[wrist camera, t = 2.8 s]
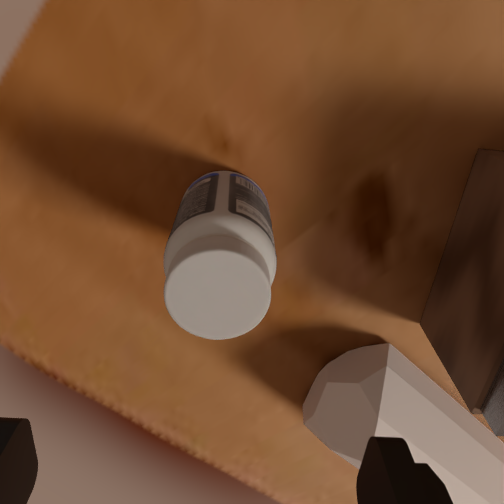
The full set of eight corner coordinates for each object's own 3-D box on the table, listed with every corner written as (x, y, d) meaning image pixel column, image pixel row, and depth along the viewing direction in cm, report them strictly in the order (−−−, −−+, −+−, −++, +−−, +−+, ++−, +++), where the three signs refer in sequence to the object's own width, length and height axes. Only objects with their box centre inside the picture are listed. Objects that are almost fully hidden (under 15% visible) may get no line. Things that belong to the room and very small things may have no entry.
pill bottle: (186, 251, 24) (160, 350, 17) (176, 169, 22) (142, 243, 15) (270, 248, 24) (281, 346, 17) (269, 167, 22) (281, 238, 15)
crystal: (612, 522, 31) (409, 339, 23) (564, 615, 30) (332, 457, 22) (516, 465, 38) (334, 310, 30) (473, 539, 37) (273, 398, 29)
